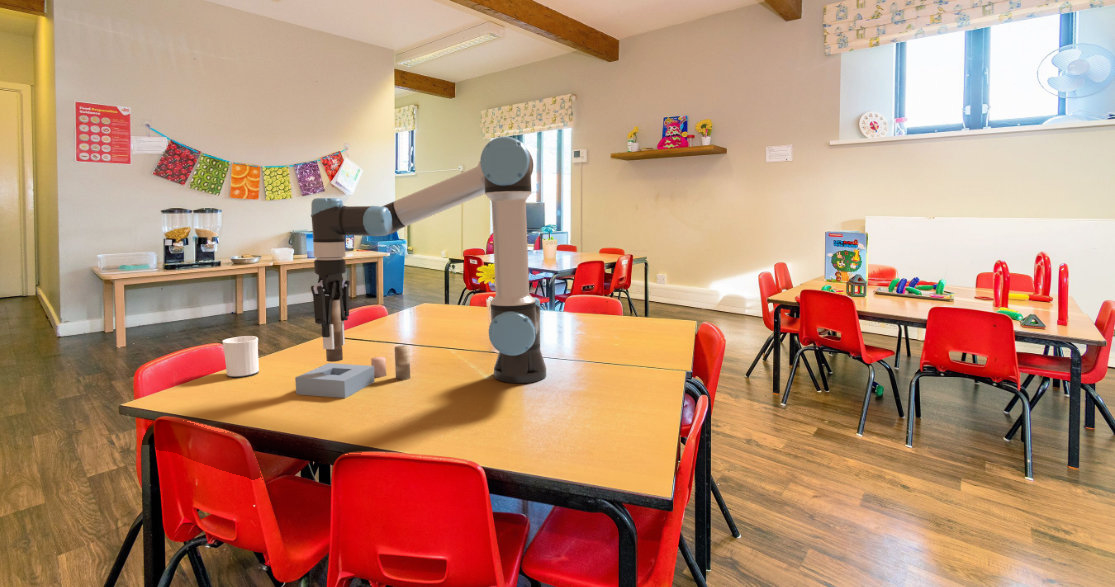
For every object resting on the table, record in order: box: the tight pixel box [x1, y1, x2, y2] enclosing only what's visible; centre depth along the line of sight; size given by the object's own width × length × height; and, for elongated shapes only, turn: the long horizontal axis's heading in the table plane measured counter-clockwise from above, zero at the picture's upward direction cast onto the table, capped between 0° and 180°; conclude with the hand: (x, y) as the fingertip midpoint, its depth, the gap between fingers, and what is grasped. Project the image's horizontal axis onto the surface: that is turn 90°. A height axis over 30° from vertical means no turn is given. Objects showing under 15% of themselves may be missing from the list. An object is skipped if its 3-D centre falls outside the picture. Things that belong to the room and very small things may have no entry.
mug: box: [222, 335, 260, 379], centre depth 157 cm, size 11×9×10 cm
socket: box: [294, 362, 375, 399], centre depth 145 cm, size 14×14×4 cm
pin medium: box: [394, 345, 411, 381], centre depth 154 cm, size 4×4×9 cm
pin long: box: [325, 299, 344, 363], centre depth 143 cm, size 4×4×16 cm
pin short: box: [370, 356, 387, 378], centre depth 157 cm, size 4×4×5 cm
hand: (334, 346), depth 144 cm, fingers closed on pin long, 4 cm apart
